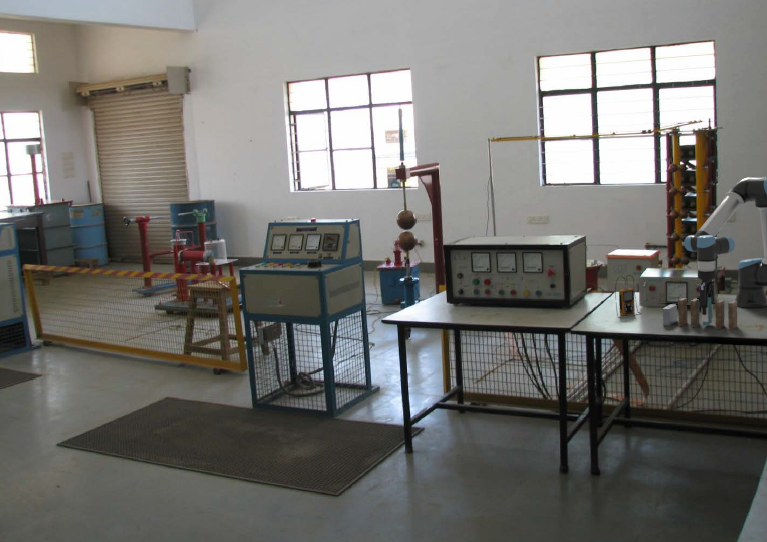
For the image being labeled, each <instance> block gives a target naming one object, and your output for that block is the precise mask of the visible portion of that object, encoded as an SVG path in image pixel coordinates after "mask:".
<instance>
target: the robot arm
mask: <svg viewBox="0 0 767 542" xmlns="http://www.w3.org/2000/svg"><path fill="white" fill-rule="evenodd" d="M749 202H754V203H755V204H754V205H755V208H756V209H758V210H759V217H760V218H759V219H760V227H761V236H762V237H761V238H762V246H763V253H764V258H762V257H761V258H760V257H757V258H755V257H754V258H748V259H742V260H740V261H739V262H738V263H737V264H738V265H737V266H738V267H737V275H738V276H737V279H738V280H737V281H738V290H737V294H736V296H735V298H734V299H735V300H734V301H737V307H739V308H747V309H748V308H749V309H752V308H753V309H755V308H756V309H757V308H758V309H759V308H764V307H767V294H766V291H765V287H767V176H747V177H745V178H743V179H741V180H739V181H737V182H736V183H735V184H734V185H732V186H731V187H730V188H729V189H728V190H727V191H726V192H725V195H724V198H723V200H722V201H721V203H720V204H719V205H718V206H717V207H716V208H715V209H714V210H713V212H712V213H711V214H710V216H709V217H708V218H707V219H706V221H705V222H704V223H703V225H701V227H700V228H699V230H697V232H696V233H695V234H691V235H688V236H686V238H685V239H684V241H683V242H684V248H685V249H686V250H687V251H689V252H693V253H697V262H696V264H697V269H698V270H697V278H698V280H701V284H700V286H699V289H700V306H699V309H700V308H701V322H702V323H703V322H708V307H707V305H708V297H711V307H712V320H713V319H714V305H715V302H716V300H715V280H714V279H716V277H717V275H716V272H717V271H716V269H717V263H716V256H719V255H723V254H724V255H726V254H728V253H732V252H733V251H734V250H735V246H736V243H735V240H734V239H733V238H732V237H731V236H721V237H719V236H718V237H717V234H718V233H719V232H720V231H721V229H723V227H724V226H725V225H726V223H727V222H728V221H729V220H730V218H731V217H732V216H733V215H734V214H735V212H736V211H737V210H738V209H739V208H741V207H743V206H744V205H745V204H746V203H749ZM703 304H704V305H703Z"/></svg>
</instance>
